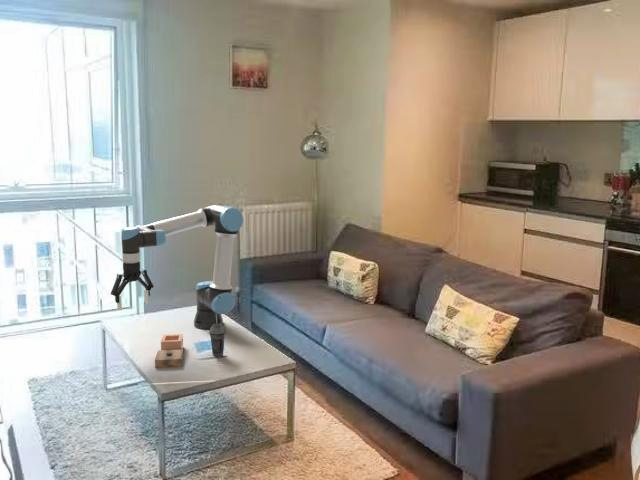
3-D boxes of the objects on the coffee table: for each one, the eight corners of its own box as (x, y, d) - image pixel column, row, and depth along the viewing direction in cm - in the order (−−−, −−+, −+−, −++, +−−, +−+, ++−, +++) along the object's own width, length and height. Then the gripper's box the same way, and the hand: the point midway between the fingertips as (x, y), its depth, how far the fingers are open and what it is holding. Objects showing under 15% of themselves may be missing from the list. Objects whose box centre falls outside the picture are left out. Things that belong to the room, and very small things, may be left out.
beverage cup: (212, 360, 264) (211, 317, 261) (207, 354, 271) (206, 313, 267) (228, 357, 268) (227, 315, 264) (223, 351, 274) (222, 310, 270)
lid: (183, 356, 266) (183, 347, 266) (181, 366, 256) (180, 357, 255) (158, 357, 265) (157, 348, 264) (155, 367, 254) (154, 358, 253)
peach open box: (183, 348, 278) (182, 334, 277) (181, 355, 269) (181, 341, 268) (163, 349, 277) (163, 334, 275) (161, 356, 268) (160, 341, 267)
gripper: (151, 256, 279) (153, 299, 283) (101, 264, 261) (103, 310, 265) (160, 258, 274) (161, 302, 278) (109, 267, 256) (112, 313, 260)
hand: (133, 306), depth 272 cm, fingers open, 13 cm apart
